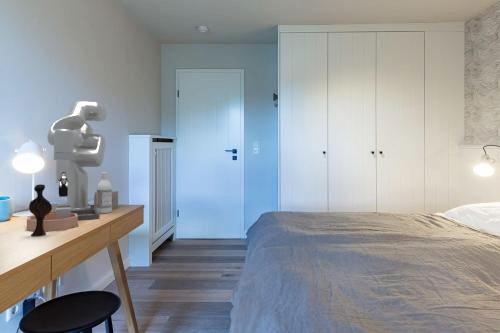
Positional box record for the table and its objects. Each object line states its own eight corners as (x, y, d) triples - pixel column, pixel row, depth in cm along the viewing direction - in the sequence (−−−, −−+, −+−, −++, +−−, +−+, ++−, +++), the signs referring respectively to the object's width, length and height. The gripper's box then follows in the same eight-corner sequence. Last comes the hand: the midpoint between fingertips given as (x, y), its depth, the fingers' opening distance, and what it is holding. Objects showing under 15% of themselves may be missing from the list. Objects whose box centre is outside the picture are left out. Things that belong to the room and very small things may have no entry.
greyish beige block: (56, 218, 145) (56, 204, 145) (69, 217, 148) (69, 204, 147) (56, 219, 141) (57, 206, 141) (70, 219, 144) (70, 205, 144)
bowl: (28, 224, 131) (28, 214, 131) (75, 220, 140) (75, 211, 140) (25, 233, 117) (25, 222, 117) (78, 228, 126) (78, 218, 126)
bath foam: (97, 211, 164) (98, 171, 163) (112, 210, 166) (113, 172, 165) (95, 213, 157) (95, 172, 156) (110, 213, 159) (111, 172, 159)
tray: (48, 216, 148) (48, 212, 147) (95, 213, 158) (95, 209, 158) (47, 222, 135) (48, 217, 135) (99, 218, 145) (99, 214, 145)
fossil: (97, 211, 163) (97, 192, 163) (93, 210, 165) (93, 192, 165) (118, 208, 173) (118, 190, 173) (114, 207, 175) (114, 190, 175)
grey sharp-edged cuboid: (56, 222, 132) (56, 207, 132) (70, 221, 135) (70, 207, 134) (56, 224, 128) (56, 209, 128) (70, 223, 131) (70, 208, 131)
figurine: (54, 232, 119) (54, 184, 118) (48, 236, 114) (49, 185, 113) (31, 233, 117) (32, 183, 117) (25, 236, 112) (25, 185, 112)
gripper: (53, 157, 149) (53, 194, 149) (53, 156, 134) (53, 197, 134) (72, 157, 153) (71, 193, 153) (74, 157, 138) (73, 197, 138)
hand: (63, 195), depth 143 cm, fingers open, 9 cm apart
